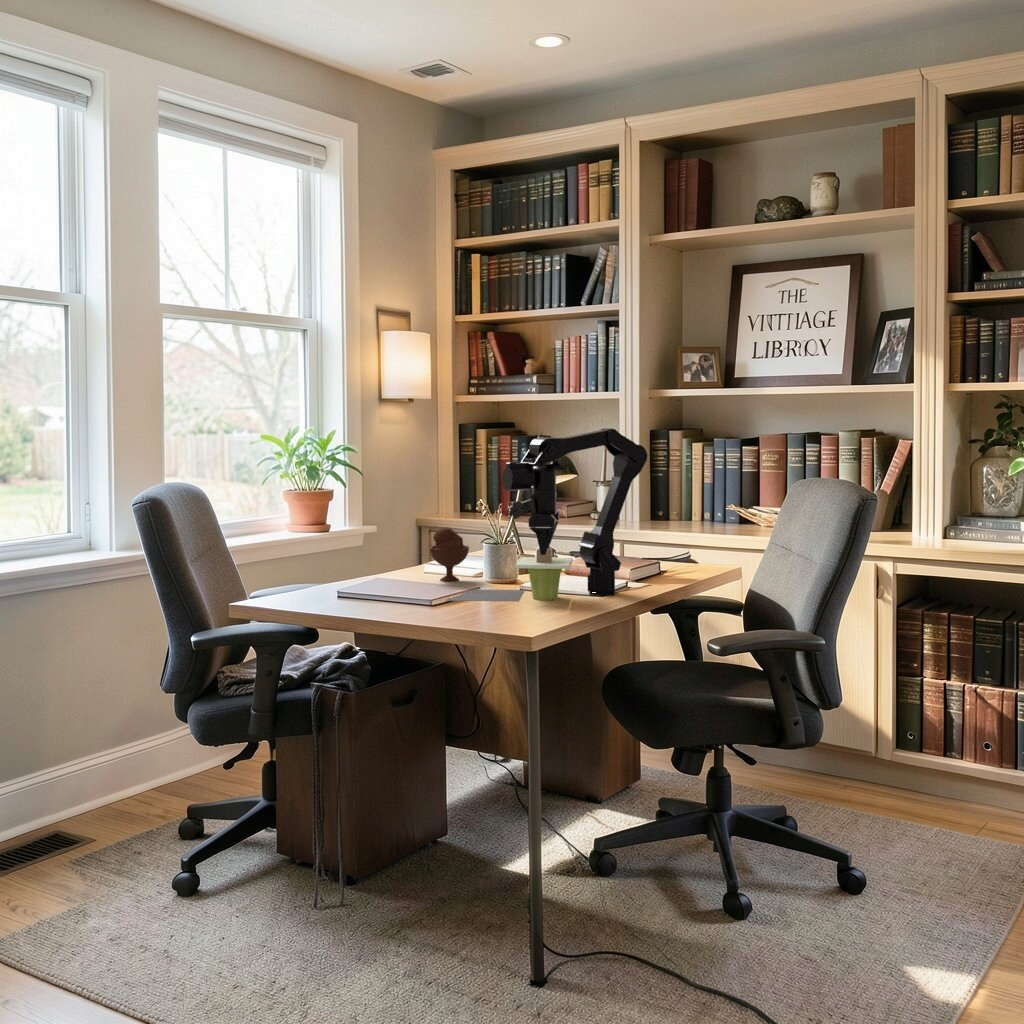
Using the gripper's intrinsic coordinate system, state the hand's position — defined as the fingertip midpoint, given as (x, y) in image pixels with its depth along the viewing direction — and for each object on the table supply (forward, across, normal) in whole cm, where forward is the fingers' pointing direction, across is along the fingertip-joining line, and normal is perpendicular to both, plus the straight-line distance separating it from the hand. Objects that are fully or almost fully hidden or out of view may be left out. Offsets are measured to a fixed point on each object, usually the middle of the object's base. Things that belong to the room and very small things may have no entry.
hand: (544, 552), depth 265 cm
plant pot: (+12, 0, 0) cm, 12 cm away
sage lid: (+3, 0, 0) cm, 3 cm away
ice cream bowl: (+12, -25, -28) cm, 39 cm away
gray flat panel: (+12, -3, -15) cm, 19 cm away
